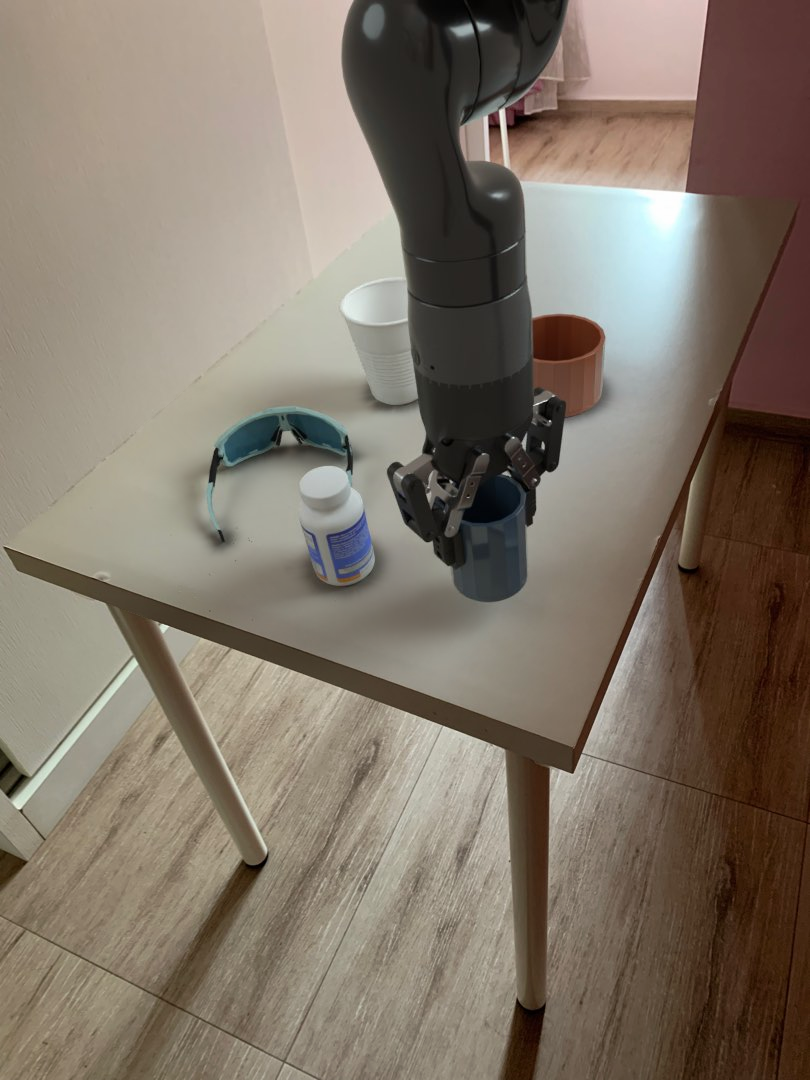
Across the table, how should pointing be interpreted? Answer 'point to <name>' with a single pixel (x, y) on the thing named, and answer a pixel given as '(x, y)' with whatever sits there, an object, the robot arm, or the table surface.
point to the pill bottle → (335, 527)
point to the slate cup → (493, 542)
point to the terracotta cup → (569, 359)
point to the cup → (382, 337)
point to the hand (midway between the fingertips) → (487, 540)
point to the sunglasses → (276, 440)
